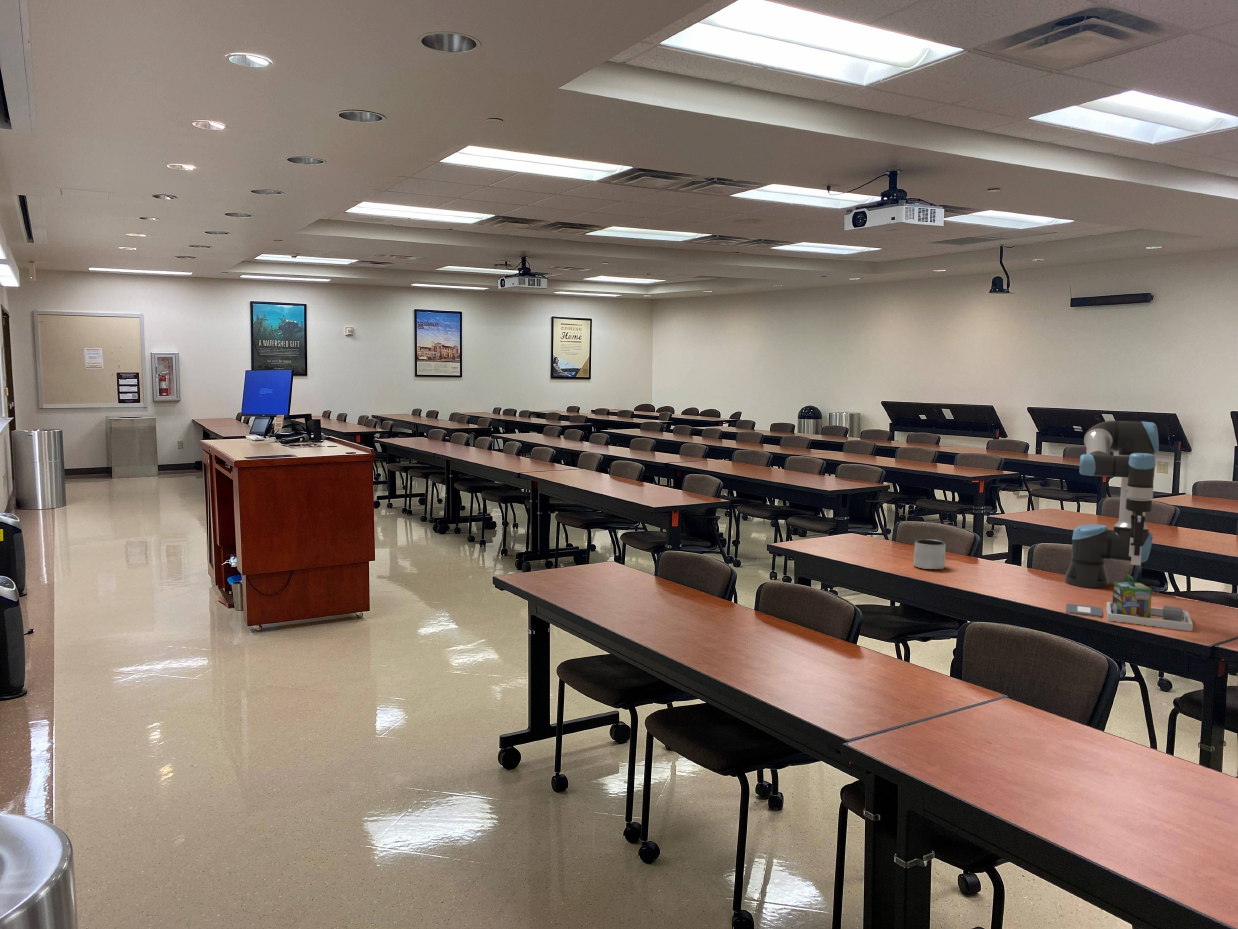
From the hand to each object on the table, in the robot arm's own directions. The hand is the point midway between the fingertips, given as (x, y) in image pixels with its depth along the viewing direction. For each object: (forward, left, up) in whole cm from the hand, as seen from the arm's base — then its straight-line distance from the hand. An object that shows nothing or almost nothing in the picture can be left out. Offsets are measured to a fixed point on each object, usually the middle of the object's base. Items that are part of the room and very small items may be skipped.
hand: (1134, 560), depth 287 cm
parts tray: (0, +5, -20) cm, 21 cm away
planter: (-42, -72, -20) cm, 86 cm away
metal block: (0, +12, -20) cm, 23 cm away
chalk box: (0, 0, -20) cm, 20 cm away
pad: (-1, -14, -20) cm, 24 cm away
